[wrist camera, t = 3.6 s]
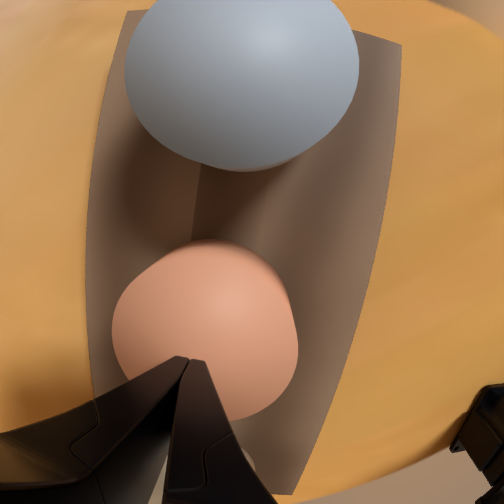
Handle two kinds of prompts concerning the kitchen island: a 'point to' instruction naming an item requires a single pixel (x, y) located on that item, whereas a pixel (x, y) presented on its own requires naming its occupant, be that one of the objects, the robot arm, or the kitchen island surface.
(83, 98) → the kitchen island surface
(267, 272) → the peach rounded lump
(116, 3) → the kitchen island surface
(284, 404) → the button board
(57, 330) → the kitchen island surface
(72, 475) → the robot arm
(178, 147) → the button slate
